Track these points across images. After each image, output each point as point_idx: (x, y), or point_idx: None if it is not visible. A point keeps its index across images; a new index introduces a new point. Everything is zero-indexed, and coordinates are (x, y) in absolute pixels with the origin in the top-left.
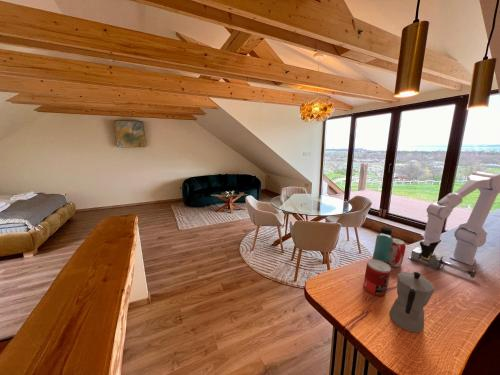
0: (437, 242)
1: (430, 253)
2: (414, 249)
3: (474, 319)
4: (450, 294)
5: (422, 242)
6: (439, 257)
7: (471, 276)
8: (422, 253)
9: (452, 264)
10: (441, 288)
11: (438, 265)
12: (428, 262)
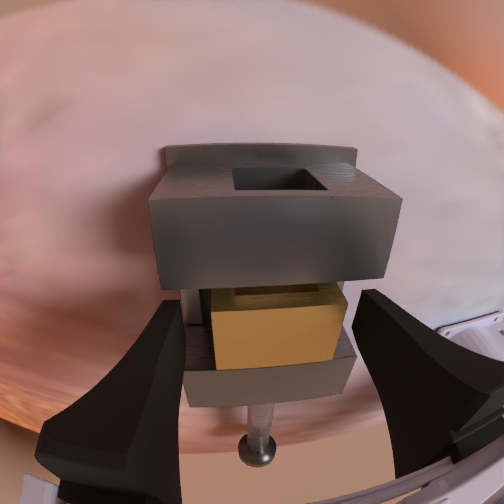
0: (401, 458)
1: (266, 360)
2: (233, 204)
3: (11, 415)
4: (33, 390)
5: (86, 478)
6: (262, 398)
7: (242, 439)
8: (150, 328)
9: (259, 422)
10: (30, 372)
11: None
12: (184, 320)
